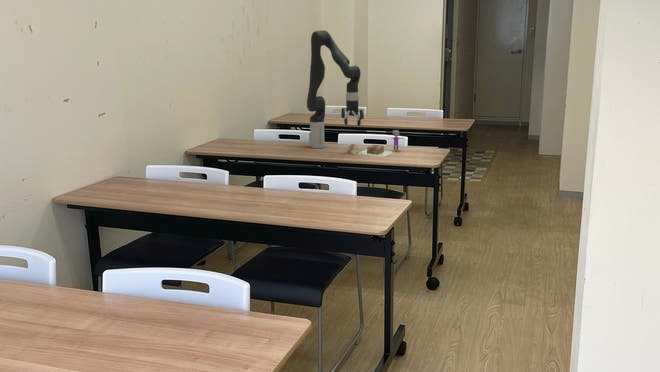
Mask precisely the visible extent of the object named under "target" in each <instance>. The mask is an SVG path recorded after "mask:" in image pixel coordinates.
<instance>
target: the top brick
mask: <svg viewBox="0 0 660 372" xmlns="http://www.w3.org/2000/svg"><path fill="white" fill-rule="evenodd" d="M346 152H347V154H353V155H355V154H358V153H359V144H354V143H350V144H348V145H346Z"/></svg>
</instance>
